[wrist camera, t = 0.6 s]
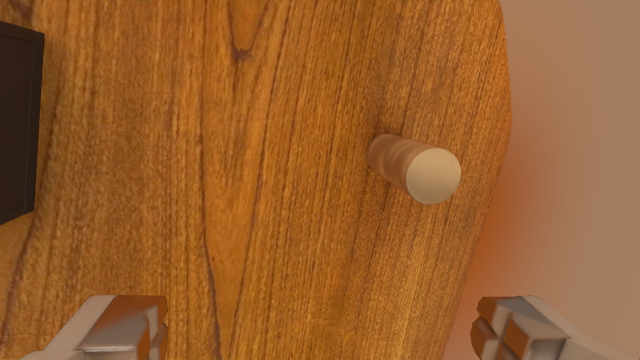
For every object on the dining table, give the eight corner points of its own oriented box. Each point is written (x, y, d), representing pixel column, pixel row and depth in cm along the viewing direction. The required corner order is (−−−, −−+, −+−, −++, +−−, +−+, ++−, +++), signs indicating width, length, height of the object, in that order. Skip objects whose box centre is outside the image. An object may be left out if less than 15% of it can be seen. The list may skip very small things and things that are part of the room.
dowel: (372, 129, 28) (416, 142, 19) (410, 138, 28) (469, 155, 20) (361, 169, 28) (398, 198, 20) (398, 177, 29) (450, 209, 20)
